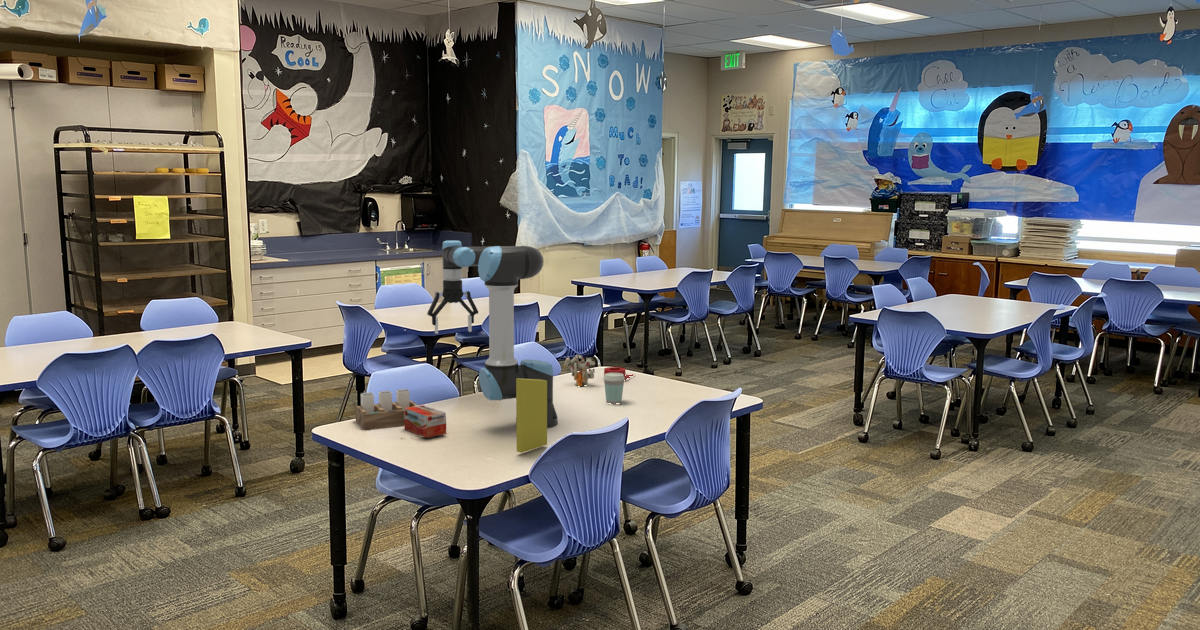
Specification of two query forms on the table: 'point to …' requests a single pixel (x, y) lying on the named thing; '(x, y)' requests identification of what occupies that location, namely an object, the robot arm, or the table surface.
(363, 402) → the tab
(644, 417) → the table surface
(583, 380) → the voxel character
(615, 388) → the coffee cup
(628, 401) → the table surface
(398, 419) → the wooden slotted rack
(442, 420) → the medicine box
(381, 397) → the tab
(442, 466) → the table surface
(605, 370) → the red barrier tape roll
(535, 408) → the flat olive board
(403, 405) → the tab
